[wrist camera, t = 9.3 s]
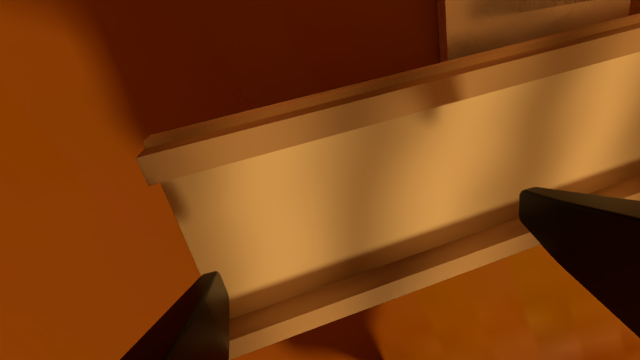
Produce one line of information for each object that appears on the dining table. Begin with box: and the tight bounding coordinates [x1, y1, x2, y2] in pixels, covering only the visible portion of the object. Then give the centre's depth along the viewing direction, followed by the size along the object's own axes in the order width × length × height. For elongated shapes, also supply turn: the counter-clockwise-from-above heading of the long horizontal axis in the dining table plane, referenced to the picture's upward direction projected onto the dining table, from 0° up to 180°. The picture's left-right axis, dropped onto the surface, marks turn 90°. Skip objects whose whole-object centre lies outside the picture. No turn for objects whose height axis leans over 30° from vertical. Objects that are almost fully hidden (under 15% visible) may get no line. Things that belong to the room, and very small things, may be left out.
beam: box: [136, 13, 640, 360], centre depth 13 cm, size 28×8×2 cm, turn 102°
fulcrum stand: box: [437, 0, 631, 63], centre depth 16 cm, size 10×16×5 cm, turn 12°
